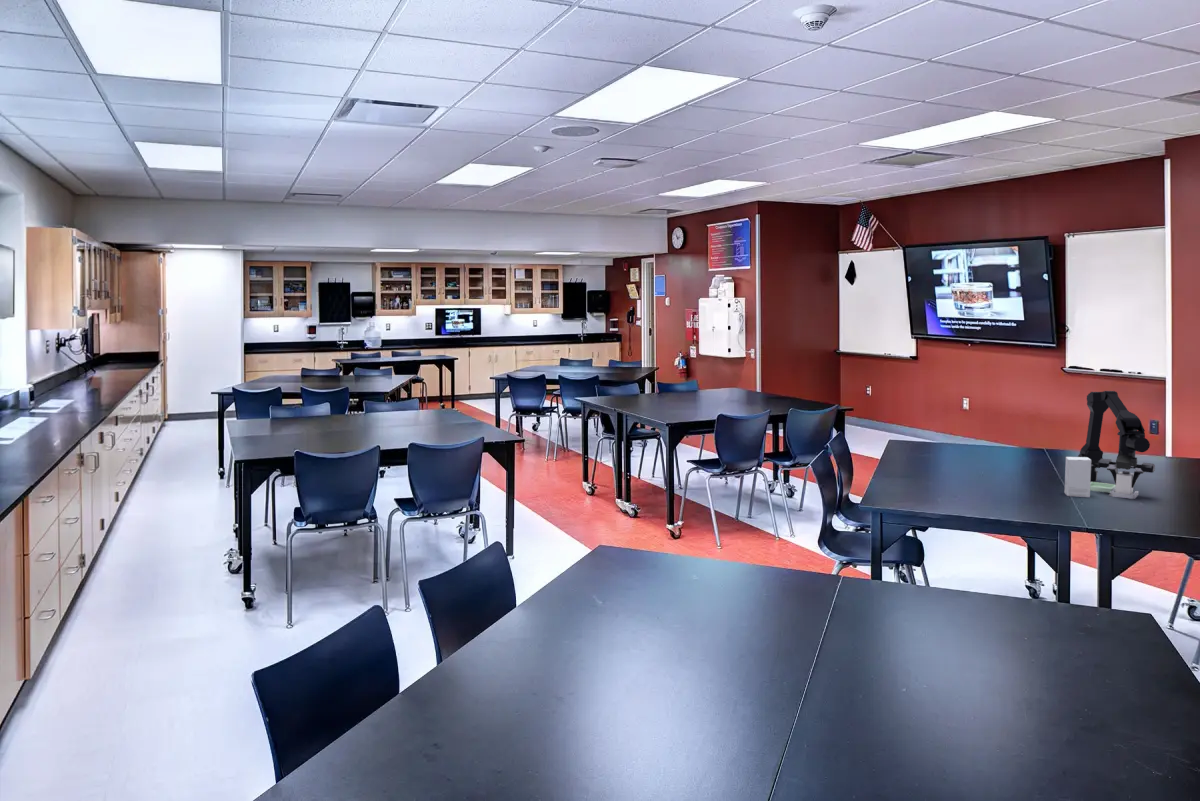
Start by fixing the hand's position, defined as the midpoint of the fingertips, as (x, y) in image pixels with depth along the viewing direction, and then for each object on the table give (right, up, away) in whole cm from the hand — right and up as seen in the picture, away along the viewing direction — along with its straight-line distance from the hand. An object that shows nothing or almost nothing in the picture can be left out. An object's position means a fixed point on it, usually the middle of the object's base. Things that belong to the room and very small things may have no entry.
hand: (1124, 486), depth 333 cm
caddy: (0, -3, 0) cm, 3 cm away
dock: (0, -4, 0) cm, 4 cm away
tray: (-2, -3, +11) cm, 12 cm away
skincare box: (-19, -4, +1) cm, 19 cm away
